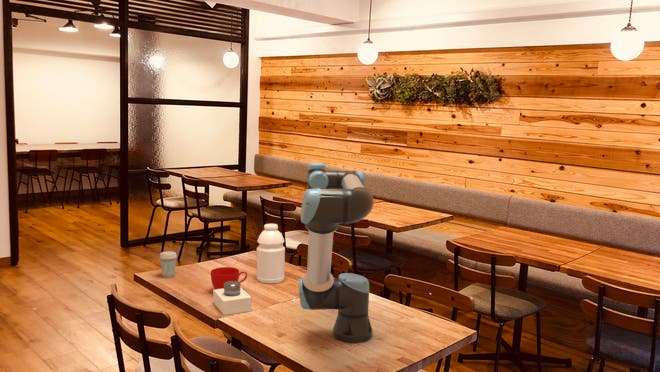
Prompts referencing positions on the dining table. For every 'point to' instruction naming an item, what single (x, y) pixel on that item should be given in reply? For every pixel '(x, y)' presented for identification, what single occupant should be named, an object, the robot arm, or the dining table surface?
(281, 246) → the bottle
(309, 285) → the robot arm
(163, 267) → the coffee cup
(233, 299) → the block
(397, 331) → the dining table surface
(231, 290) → the pin
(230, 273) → the ceramic cup
